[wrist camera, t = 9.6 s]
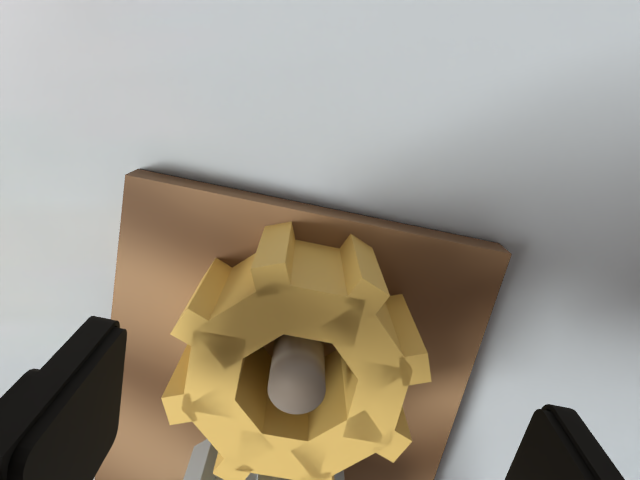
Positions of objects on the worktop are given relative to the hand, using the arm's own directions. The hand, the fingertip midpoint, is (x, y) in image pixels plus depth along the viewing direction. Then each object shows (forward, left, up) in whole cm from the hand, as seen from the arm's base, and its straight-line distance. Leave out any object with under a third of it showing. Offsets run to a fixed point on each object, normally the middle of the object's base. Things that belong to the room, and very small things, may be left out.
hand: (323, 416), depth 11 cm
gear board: (+5, 0, -8) cm, 9 cm away
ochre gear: (+1, -1, -6) cm, 6 cm away
